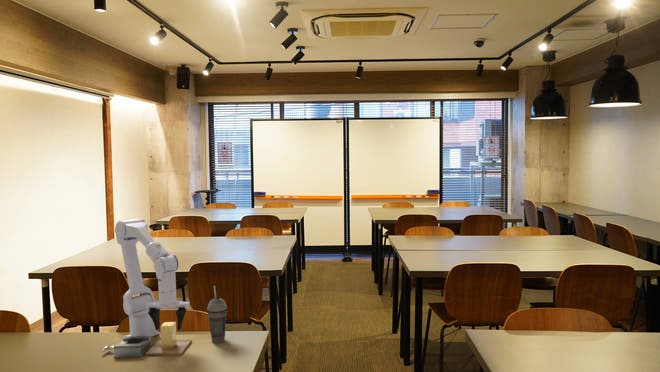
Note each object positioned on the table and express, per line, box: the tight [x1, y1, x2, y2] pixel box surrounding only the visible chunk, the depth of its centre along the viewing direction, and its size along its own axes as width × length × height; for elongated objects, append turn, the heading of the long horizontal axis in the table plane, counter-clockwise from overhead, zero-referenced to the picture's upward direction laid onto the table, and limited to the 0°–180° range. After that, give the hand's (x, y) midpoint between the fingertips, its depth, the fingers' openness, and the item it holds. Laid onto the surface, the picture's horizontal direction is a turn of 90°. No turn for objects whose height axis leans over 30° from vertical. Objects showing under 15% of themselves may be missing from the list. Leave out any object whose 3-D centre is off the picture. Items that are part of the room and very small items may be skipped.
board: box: [144, 339, 193, 357], centre depth 165 cm, size 12×12×1 cm
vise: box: [101, 335, 152, 358], centre depth 162 cm, size 9×14×4 cm, turn 90°
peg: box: [160, 321, 178, 349], centre depth 164 cm, size 4×4×8 cm
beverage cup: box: [206, 285, 228, 344], centre depth 171 cm, size 7×7×20 cm
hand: (168, 329), depth 164 cm, fingers open, 7 cm apart
